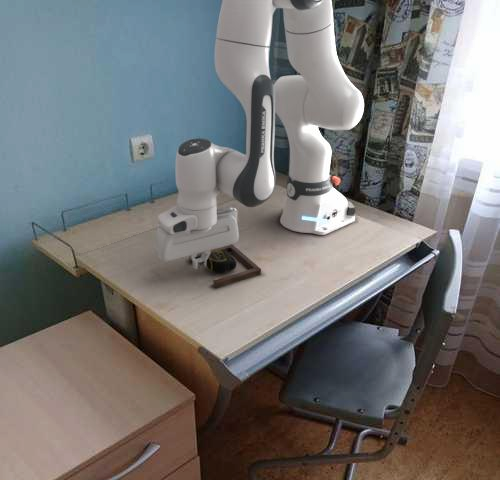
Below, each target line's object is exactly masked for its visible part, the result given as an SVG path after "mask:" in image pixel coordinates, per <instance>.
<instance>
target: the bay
mask: <svg viewBox="0 0 500 480" xmlns="http://www.w3.org/2000/svg"><path fill="white" fill-rule="evenodd" d="M223 249H225V250H226V251H227V252H228V253H229V254H232V255H233V256H234V257H235V258H236V259H237V260H238V261H239V262H241V263H242V264H243V265H244V266H245V267H246V268H248V269H247V270H243V271H239V272H238V273H234V274H230V275H227V276H224V277H219V278H216V279H214V280H213V281H212V282H213V285H212V286H213V287H214V288H215V289H218V288H221V287H224V286H228V285H231V284H234V283H237V282H242V281H244V280H247V279H248V280H249V279H251V278H254V277H257V276H262V268H261V267H259V266H258V264H256V263H255V262H254V261H252V260H251V259H250V258H249V257H248V256H247V255H246V254H244V253H243V252H242V251H241V250H240V249H238V248H237V247H236V246H235V244H231V245H227V246H224V247H220V248H216V249H212V250H210V251H211V252H213V251H221V250H223ZM202 253H203V252H201V253H197V257H195V259H198V258H201V256H202ZM188 262H189V263H190V264H193V261H192V259H191V258H190V257H189V256H188Z"/></svg>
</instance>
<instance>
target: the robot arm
mask: <svg viewBox="0 0 500 480" xmlns="http://www.w3.org/2000/svg"><path fill="white" fill-rule="evenodd" d="M276 9H282V17H283V25H284V35H285V44H286V51H287V58H288V61H289V63H290V65H291V66H292V68H293V69H294V70H295V71H296V73H298V74H292V75H291V74H290V75H284V76H283V75H282V76H280V77H279V78H278V79H277V80H276V81H275V82H273V81H272V78H271V72H270V71H271V70H270V50H271V48H270V47H271V41H272V33H273V32H272V31H273V16H274V13H275V11H276ZM333 10H334V9H333V2H332V0H222V2H221V6H220V11H219V16H218V21H217V26H216V34H215V42H214V43H215V44H214V51H213V52H214V53H213V56H214V57H213V58H214V59H213V61H214V69H215V72H216V74H217V77H218V78H219V80H220V81H221V83H222V84H223V85H224V86H225V88H227V90H229V91H230V92H231V93H232V94H233V95H234V97H235V98H236V99H237V100H238V101H239V103H240V104H241V106H242V108H243V110H244V114H245V117H246V136H245V139H246V141H245V145H246V146H245V154H244V153H243V152H240V151H239V150H236V149H234V148H231V147H227V146H224V145H223V146H221V145H217V144H214V143H213V142H211V141H210V140H209V139H207V138H200V137H199V138H191V139H188V140H185V141H184V142H182V143H181V144H180V145H179V146H178V147H177V150H176V154H175V162H174V165H175V166H174V170H175V171H174V172H175V173H174V175H175V186H176V188H177V192H178V195H177V199H176V204H175V205H174V206H172V207H170V208H169V209H167V210H165V211H163V212H162V213H160V214H159V215H158V216H157V223H158V225H159V227H158V228H157V229H156V233H155V234H156V235H155V250H156V255H157V256H158V257H159V259H160V260H162V261H163V262H164V263H167V262H170V261H175V260H179V259H182V258H186V257H188V258H189V257H190V258H191V259H192V261H193V263H192V267H193V268H194V269H195V270H197V269H201V268H204V267H207V266H206V265H207V263H206V260H207V259H208V257H209V255H210V253H211V251H210V250H213V249H217V248H220V247H224V246H228V245H231V244H233V245H235V244H237V242H238V240H239V237H240V236H239V226H238V210H237V208H234V207H232V206H226V207H223V208H221V207H220V208H218V200H217V199H218V198H217V196H218V195H219V194H224V195H227V196H229V197H231V198H233V199H234V200H235V201H237V202H238V203H240V204H242V205H244V206H245V207H247V208H255V207H258V206H260V205H262V204H264V203H265V202H267V201H268V200H269V199H270V198H271V197H272V195H273V193H274V191H275V188H276V181H277V180H276V179H277V178H276V169H275V157H274V156H275V136H276V135H275V134H276V133H275V132H276V115H277V117H278V118H279V120H280V121H281V123H282V126H283V127H284V129H285V133H286V136H287V140H288V145H289V166H288V167H289V168H288V173H287V176H286V184H285V185H286V197H285V203H284V206H283V210H282V213H281V216H280V218H279V222H280V224H281V225H282V226H283V227H284V228H286V229H288V230H290V231H292V232H297V233H303V234H314V235H318V236H325V235H328V234H330V233H332V232H334V231H336V230H338V229H341V228H343V227H345V226H347V225H350V224H351V223H354V222H356V216H355V214H356V211H357V209H356V207H355V206H354V204H353V203H352V202H351V201H350V200H347V198H346V197H345V196H344V195H343V194H342V193H341V192H340V191H338V190H337V189H336V188H334V186H333V184H334V185H335V186H339V184H340V183H341V178H340V177H338V176H336V175H333V176H332V174H330V169H331V160H332V147H331V145H330V143H329V142H328V141H327V140H326V139H325V138H324V137H323V136H322V134H321V132H320V130H319V128H322V129H326V130H331V131H349V130H352V129H353V128H355V127H356V125H358V123H359V122H360V121H361V119H362V117H363V114H364V108H365V102H364V97H363V95H362V93H361V91H360V90H359V89H358V88H357V87H356V86H355V85H354V84H353V83H352V82H351V81H350V79H349V78H348V77H347V75H346V73H345V71H344V69H343V67H342V65H341V63H340V59H339V57H338V55H337V47H336V39H335V25H334V11H333ZM202 252H203V253H202ZM198 253H202V256H201V258H198V259H195V257H197V254H198Z"/></svg>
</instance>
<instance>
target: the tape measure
mask: <svg viewBox="0 0 500 480" xmlns="http://www.w3.org/2000/svg"><path fill="white" fill-rule="evenodd" d="M206 263H207V265H206V266H205V267H206V268H207V269H208V271H210V272H212V273H215V274H225V273H227V272H230V271H234V270H235V269H237V265H238V263H237V261H236V259H235V258H234V257H232V256H231V254H230V253H228V252H227V251H226V250H225V249H223V250H221V251H213V252H211V253H210V255H209V257H208V259H207V260H206Z"/></svg>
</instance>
